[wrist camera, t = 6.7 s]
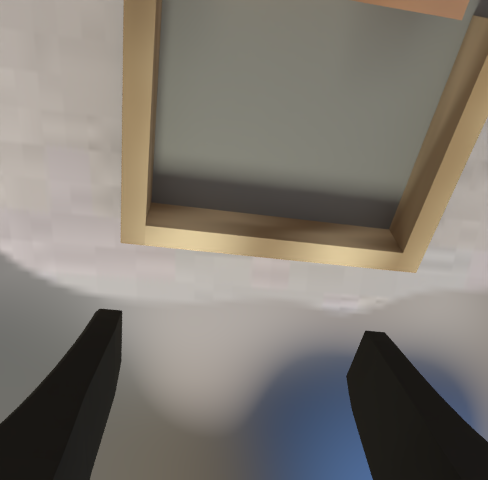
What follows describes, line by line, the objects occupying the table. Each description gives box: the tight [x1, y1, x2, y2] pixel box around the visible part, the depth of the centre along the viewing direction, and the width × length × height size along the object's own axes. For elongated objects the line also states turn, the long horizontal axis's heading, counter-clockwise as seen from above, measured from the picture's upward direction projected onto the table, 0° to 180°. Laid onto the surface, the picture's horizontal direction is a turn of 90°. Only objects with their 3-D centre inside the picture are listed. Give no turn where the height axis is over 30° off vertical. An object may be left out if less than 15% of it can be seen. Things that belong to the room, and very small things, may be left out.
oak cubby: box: [121, 0, 488, 273], centre depth 18 cm, size 13×10×2 cm
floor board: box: [151, 0, 488, 229], centre depth 18 cm, size 15×16×1 cm
